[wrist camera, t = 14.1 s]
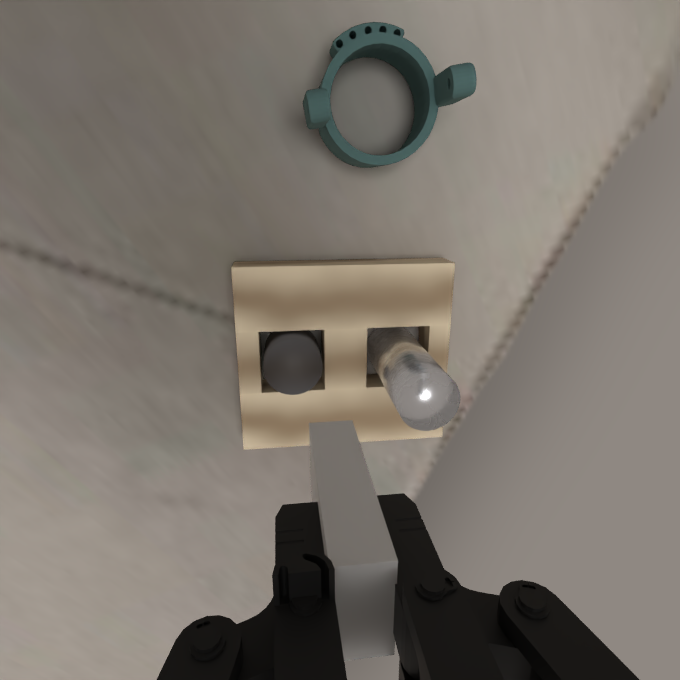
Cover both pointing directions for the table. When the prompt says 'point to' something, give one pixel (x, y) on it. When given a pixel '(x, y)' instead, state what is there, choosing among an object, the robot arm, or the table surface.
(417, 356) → the metal cylinder
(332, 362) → the jig
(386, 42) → the bracket
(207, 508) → the table surface
